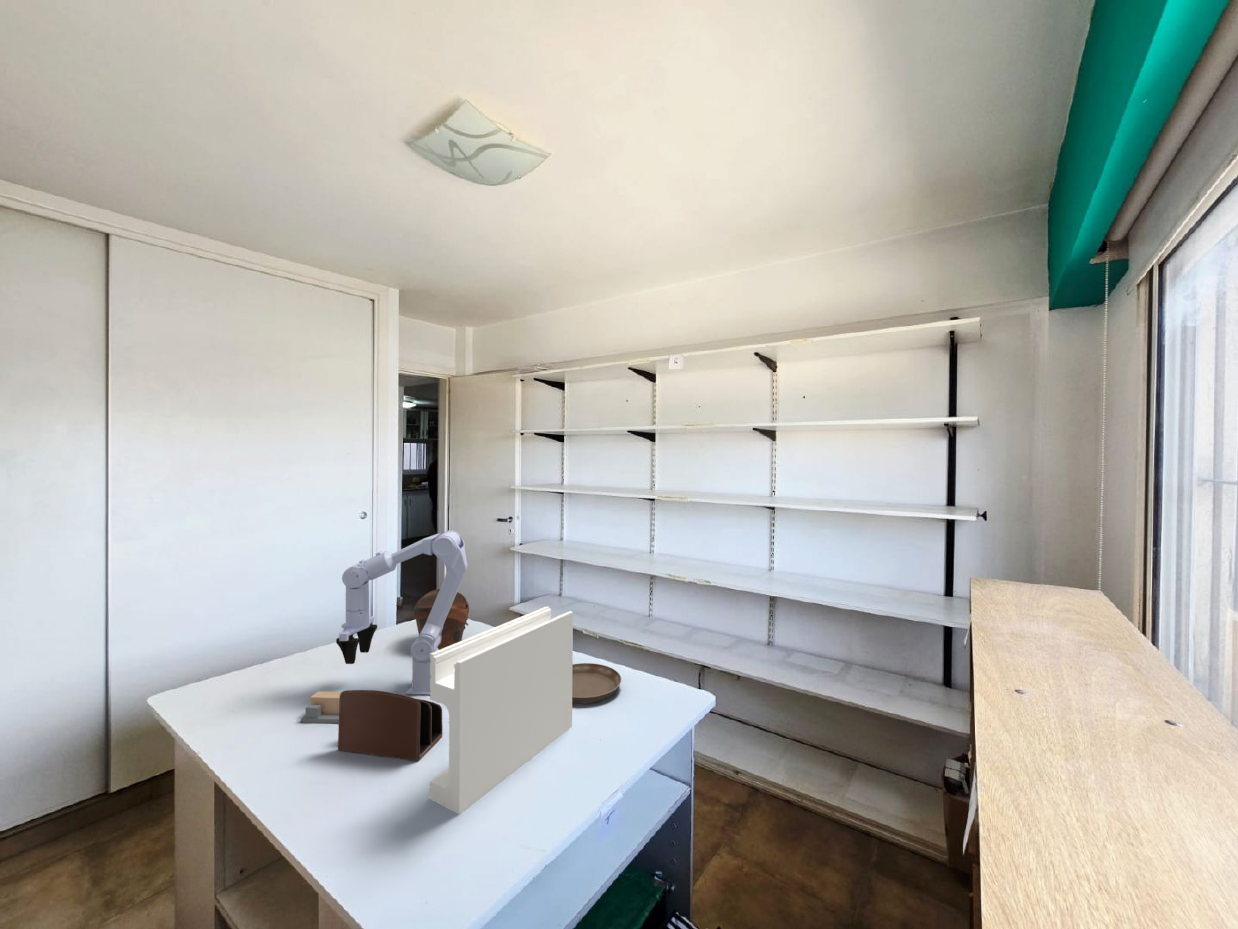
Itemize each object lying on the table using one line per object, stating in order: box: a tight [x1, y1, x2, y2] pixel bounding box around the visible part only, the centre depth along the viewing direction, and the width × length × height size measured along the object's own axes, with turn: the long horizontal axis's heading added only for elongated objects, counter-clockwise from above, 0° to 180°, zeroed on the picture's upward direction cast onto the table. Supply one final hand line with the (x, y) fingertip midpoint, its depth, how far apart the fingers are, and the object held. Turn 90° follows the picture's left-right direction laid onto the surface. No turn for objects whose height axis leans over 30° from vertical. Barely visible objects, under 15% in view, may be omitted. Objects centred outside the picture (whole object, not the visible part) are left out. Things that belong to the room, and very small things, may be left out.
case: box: [411, 588, 470, 650], centre depth 172 cm, size 18×20×18 cm
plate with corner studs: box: [300, 704, 339, 724], centre depth 127 cm, size 16×8×4 cm, turn 88°
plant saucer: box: [572, 662, 622, 705], centre depth 143 cm, size 21×21×3 cm
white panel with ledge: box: [429, 606, 574, 815], centre depth 110 cm, size 35×8×28 cm, turn 150°
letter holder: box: [337, 689, 443, 763], centre depth 115 cm, size 10×20×14 cm, turn 79°
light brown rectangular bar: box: [309, 691, 342, 714], centre depth 127 cm, size 14×3×4 cm, turn 88°
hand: (357, 657), depth 140 cm, fingers open, 7 cm apart
